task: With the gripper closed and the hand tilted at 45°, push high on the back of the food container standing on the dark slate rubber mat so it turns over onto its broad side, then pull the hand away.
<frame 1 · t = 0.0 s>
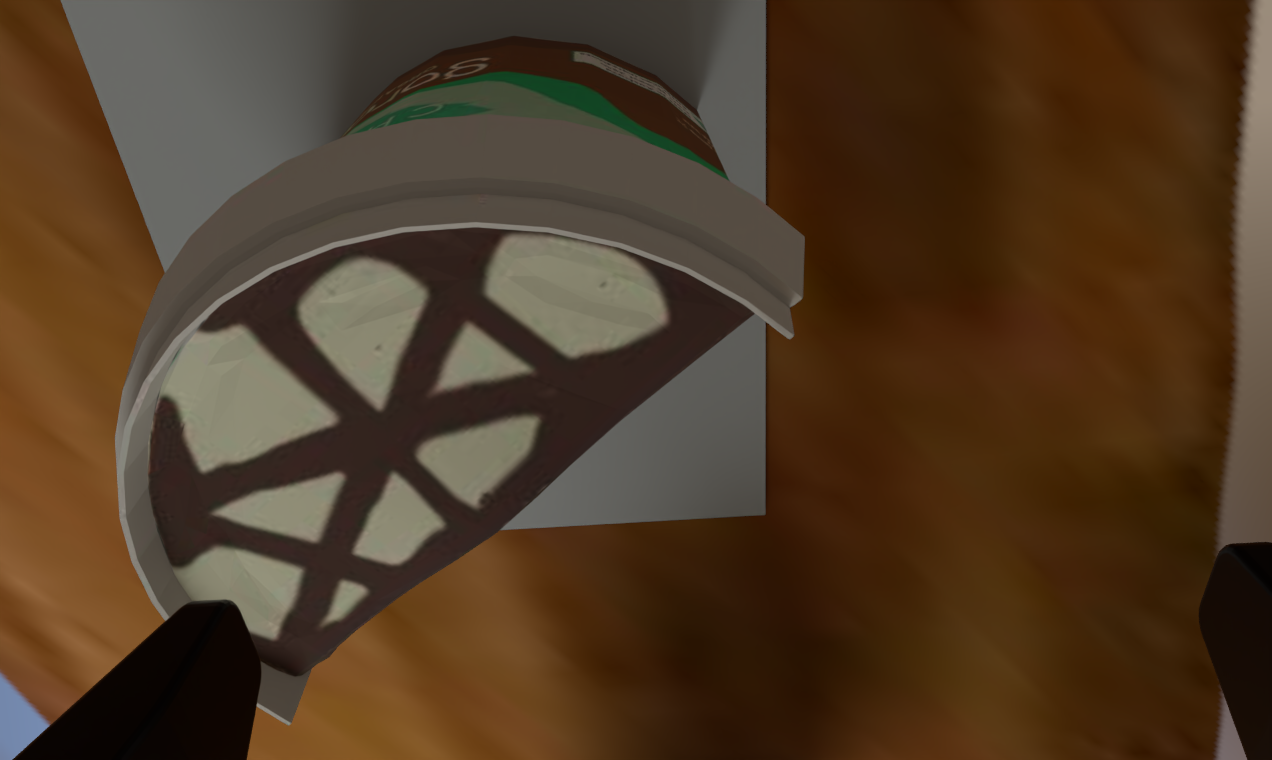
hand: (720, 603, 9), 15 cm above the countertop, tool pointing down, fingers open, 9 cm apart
slate mat: (471, 293, 24), on the countertop
food container: (445, 155, 22), resting on slate mat
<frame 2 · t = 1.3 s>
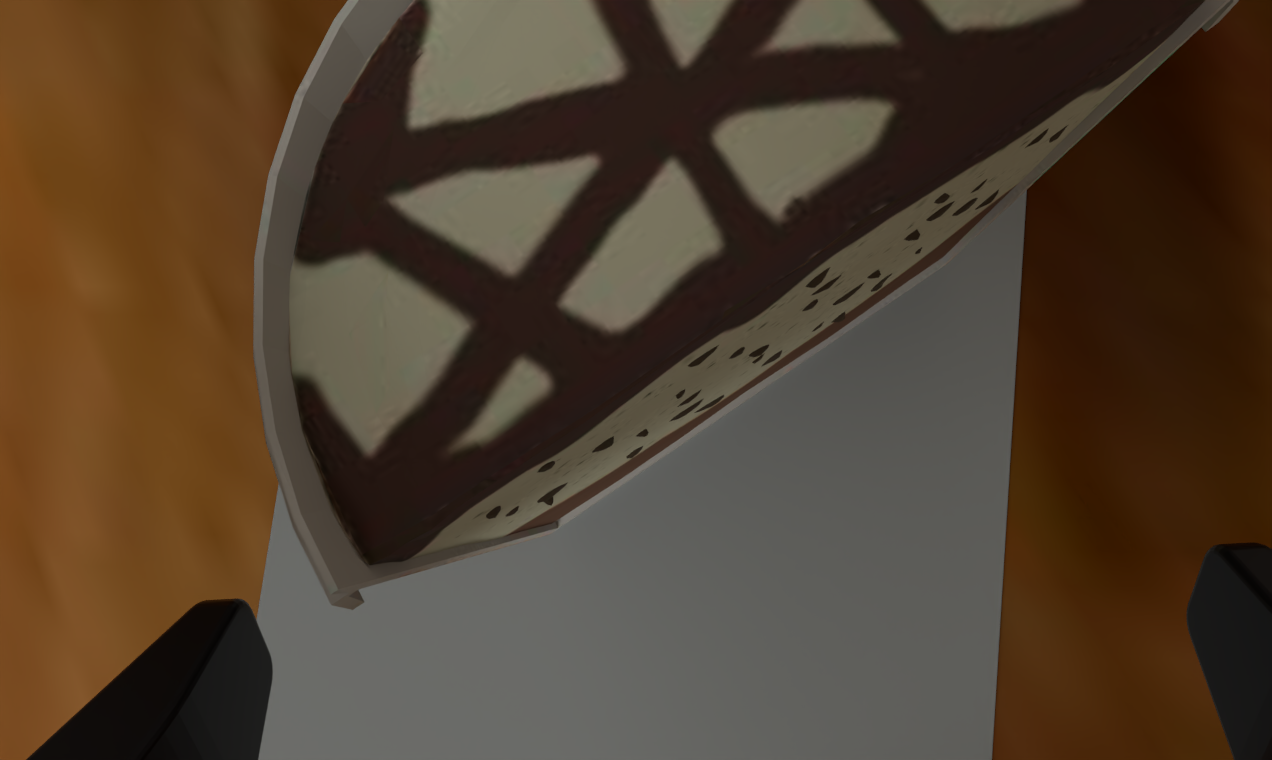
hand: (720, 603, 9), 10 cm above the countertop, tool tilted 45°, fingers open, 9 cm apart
slate mat: (642, 447, 20), on the countertop
food container: (661, 273, 20), resting on slate mat
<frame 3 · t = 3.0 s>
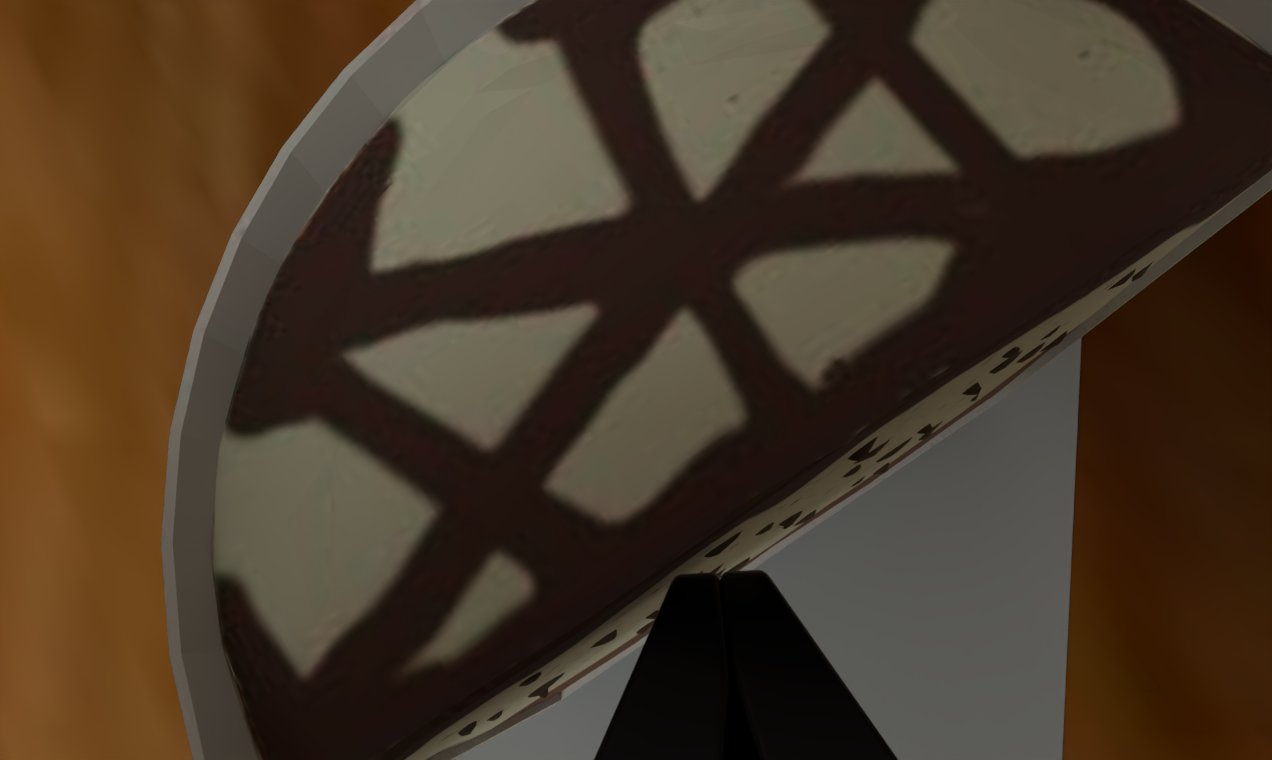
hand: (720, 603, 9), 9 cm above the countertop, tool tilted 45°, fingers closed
slate mat: (658, 604, 18), on the countertop
food container: (680, 409, 18), resting on slate mat, touching gripper
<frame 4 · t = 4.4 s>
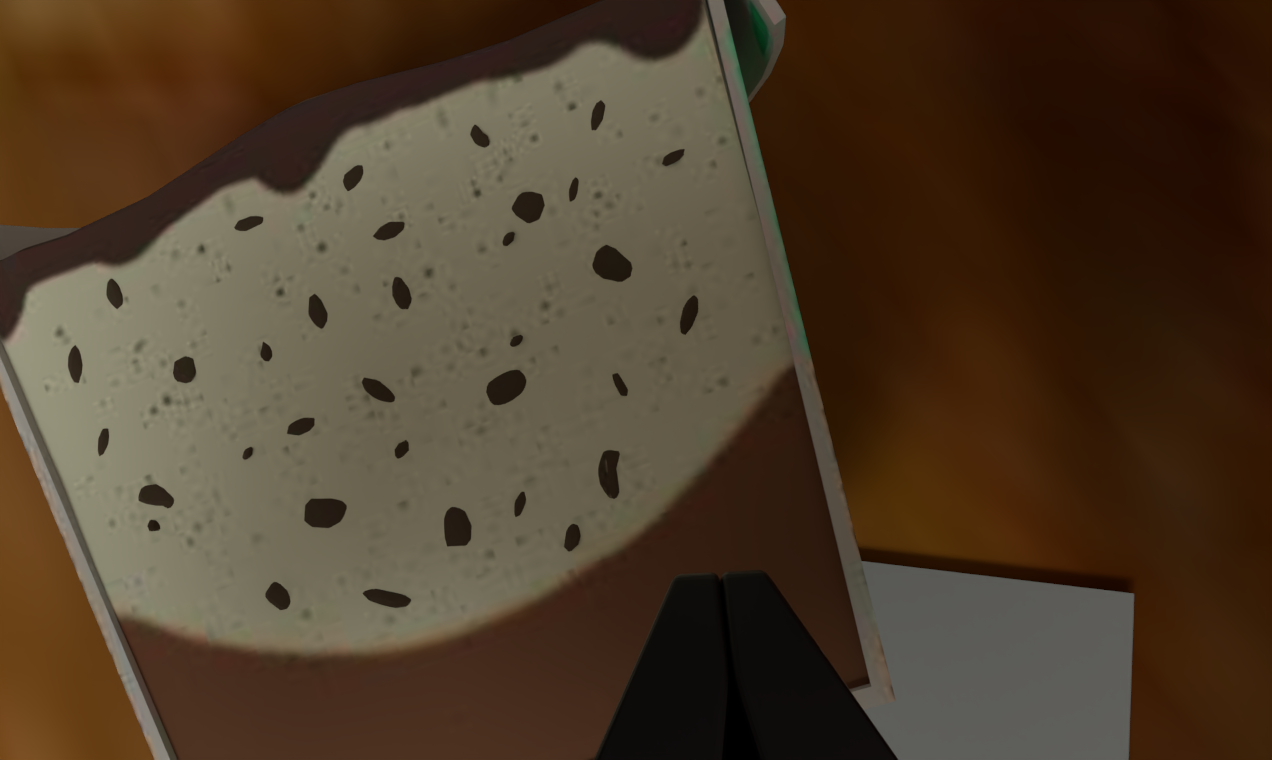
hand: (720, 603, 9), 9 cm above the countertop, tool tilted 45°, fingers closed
food container: (593, 735, 16), point 2 cm above the countertop, touching slate mat
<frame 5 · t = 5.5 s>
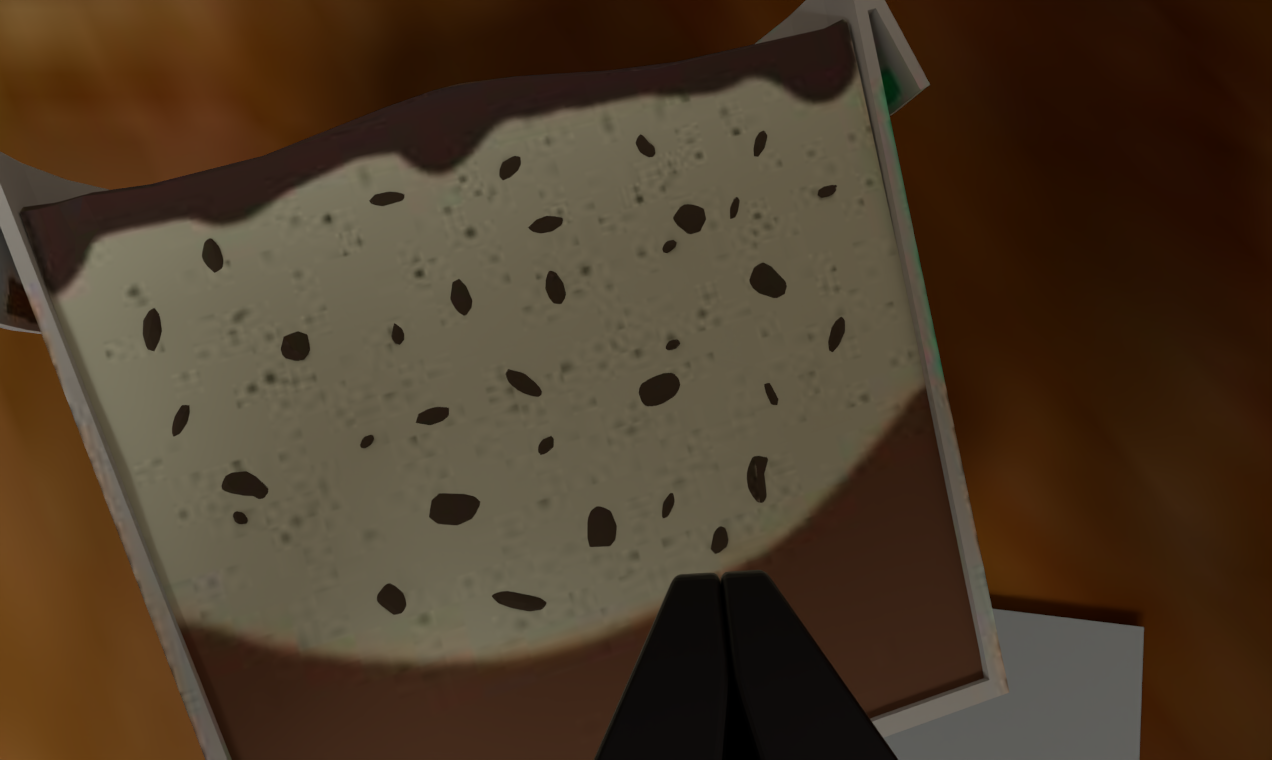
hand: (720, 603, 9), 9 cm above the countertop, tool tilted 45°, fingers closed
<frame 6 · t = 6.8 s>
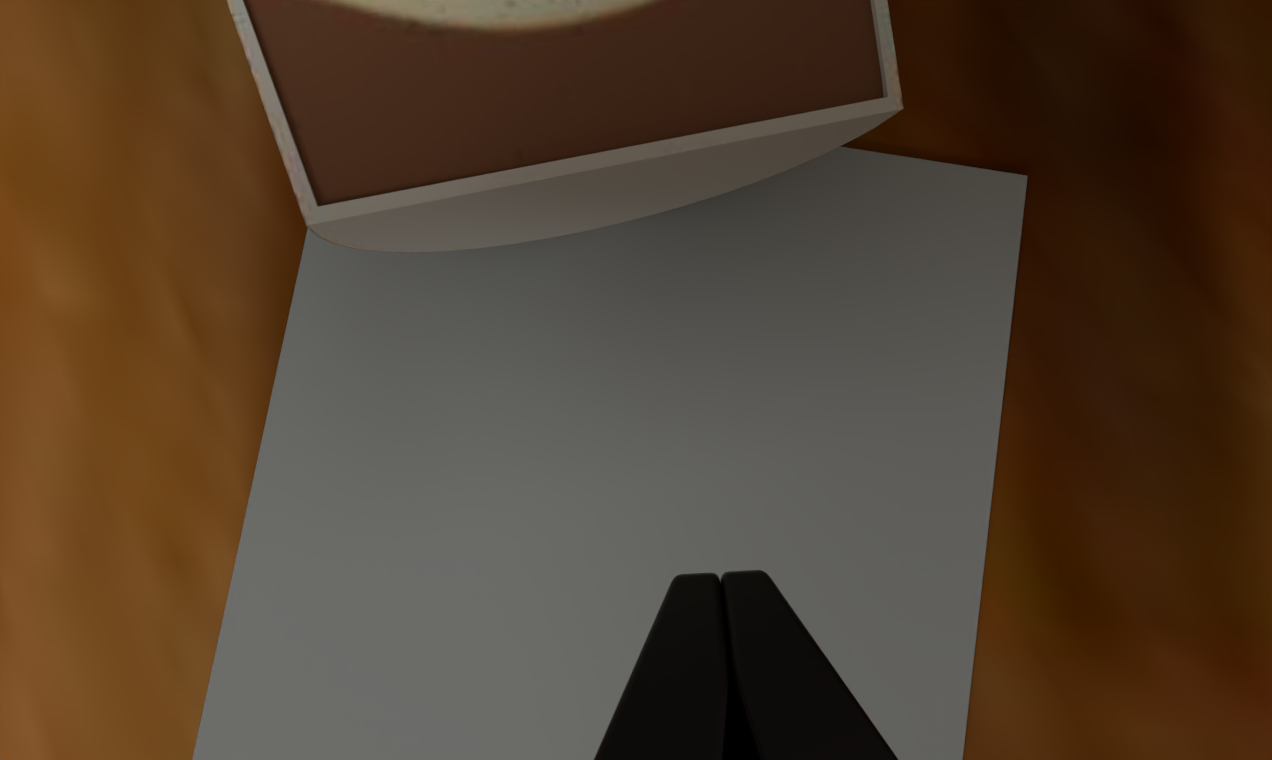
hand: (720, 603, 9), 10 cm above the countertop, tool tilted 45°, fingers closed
slate mat: (622, 490, 20), on the countertop
food container: (596, 221, 18), point 2 cm above the countertop, touching slate mat
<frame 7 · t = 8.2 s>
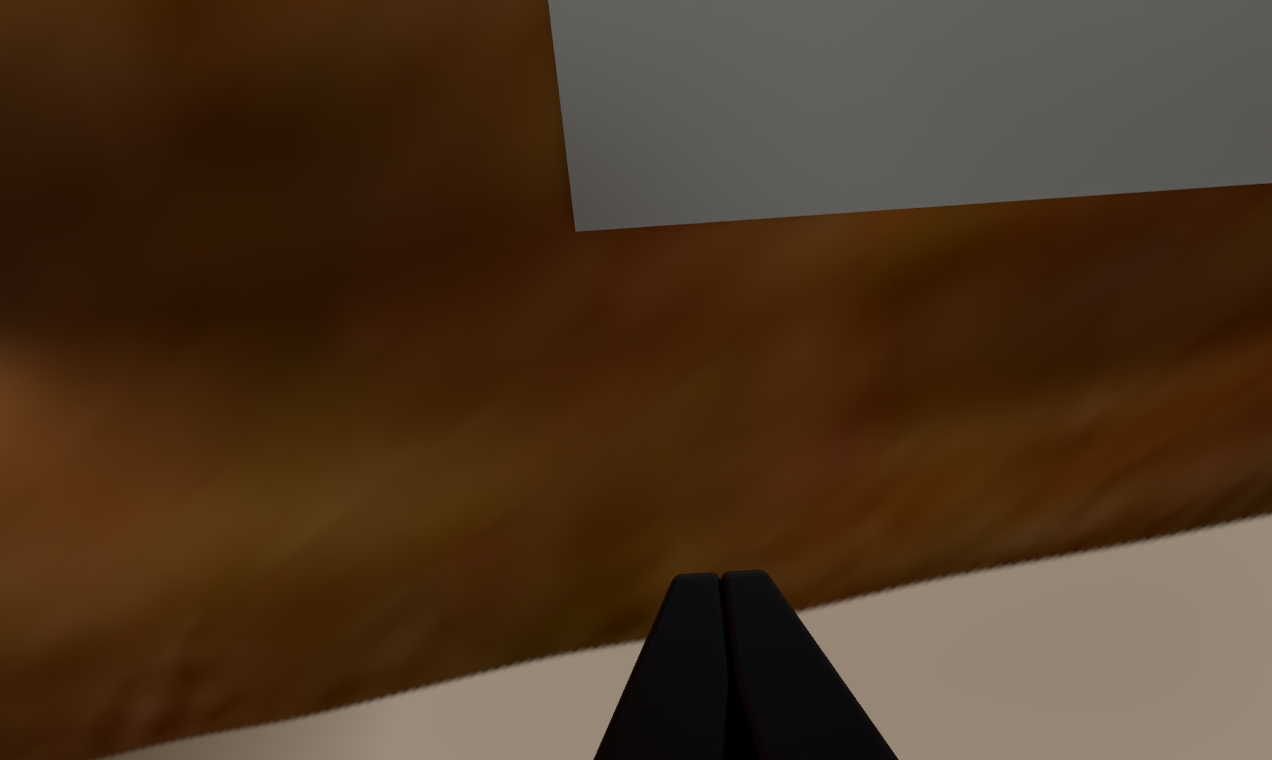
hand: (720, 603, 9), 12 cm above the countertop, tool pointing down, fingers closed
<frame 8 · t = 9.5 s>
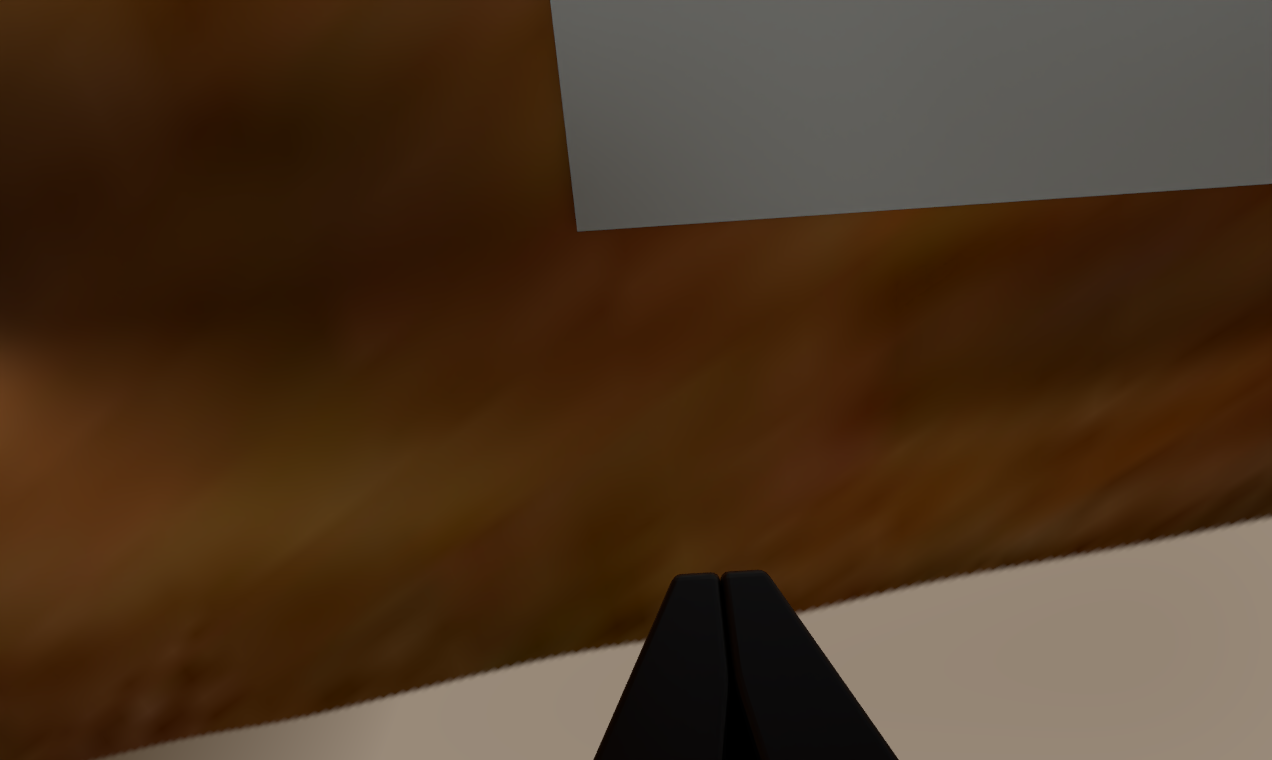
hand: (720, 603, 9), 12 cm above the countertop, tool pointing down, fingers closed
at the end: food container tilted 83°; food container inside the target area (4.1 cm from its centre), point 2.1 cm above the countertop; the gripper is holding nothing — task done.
